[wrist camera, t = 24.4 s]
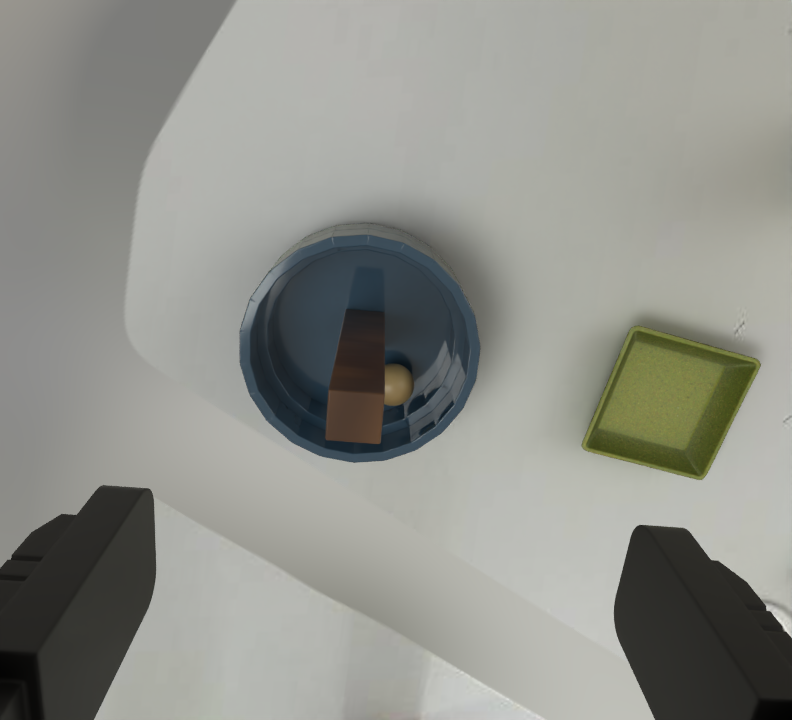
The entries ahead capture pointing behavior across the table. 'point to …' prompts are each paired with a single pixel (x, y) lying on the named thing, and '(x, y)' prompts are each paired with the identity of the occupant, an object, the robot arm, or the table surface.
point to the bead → (397, 384)
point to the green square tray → (669, 403)
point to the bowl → (321, 326)
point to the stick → (358, 380)
